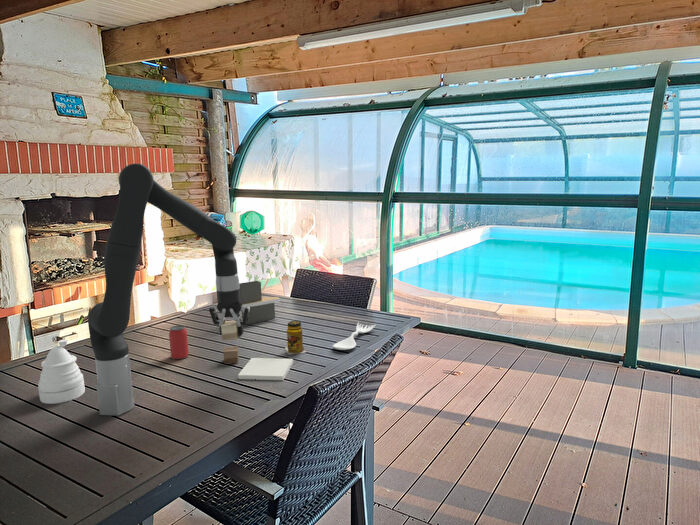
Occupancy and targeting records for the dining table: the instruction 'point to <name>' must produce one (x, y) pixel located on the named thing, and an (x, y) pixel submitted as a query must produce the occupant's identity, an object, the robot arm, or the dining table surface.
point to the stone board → (266, 369)
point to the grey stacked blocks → (257, 302)
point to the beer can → (178, 342)
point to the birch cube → (229, 330)
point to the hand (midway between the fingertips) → (232, 335)
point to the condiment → (294, 338)
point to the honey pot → (60, 377)
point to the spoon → (350, 341)
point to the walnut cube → (231, 355)
